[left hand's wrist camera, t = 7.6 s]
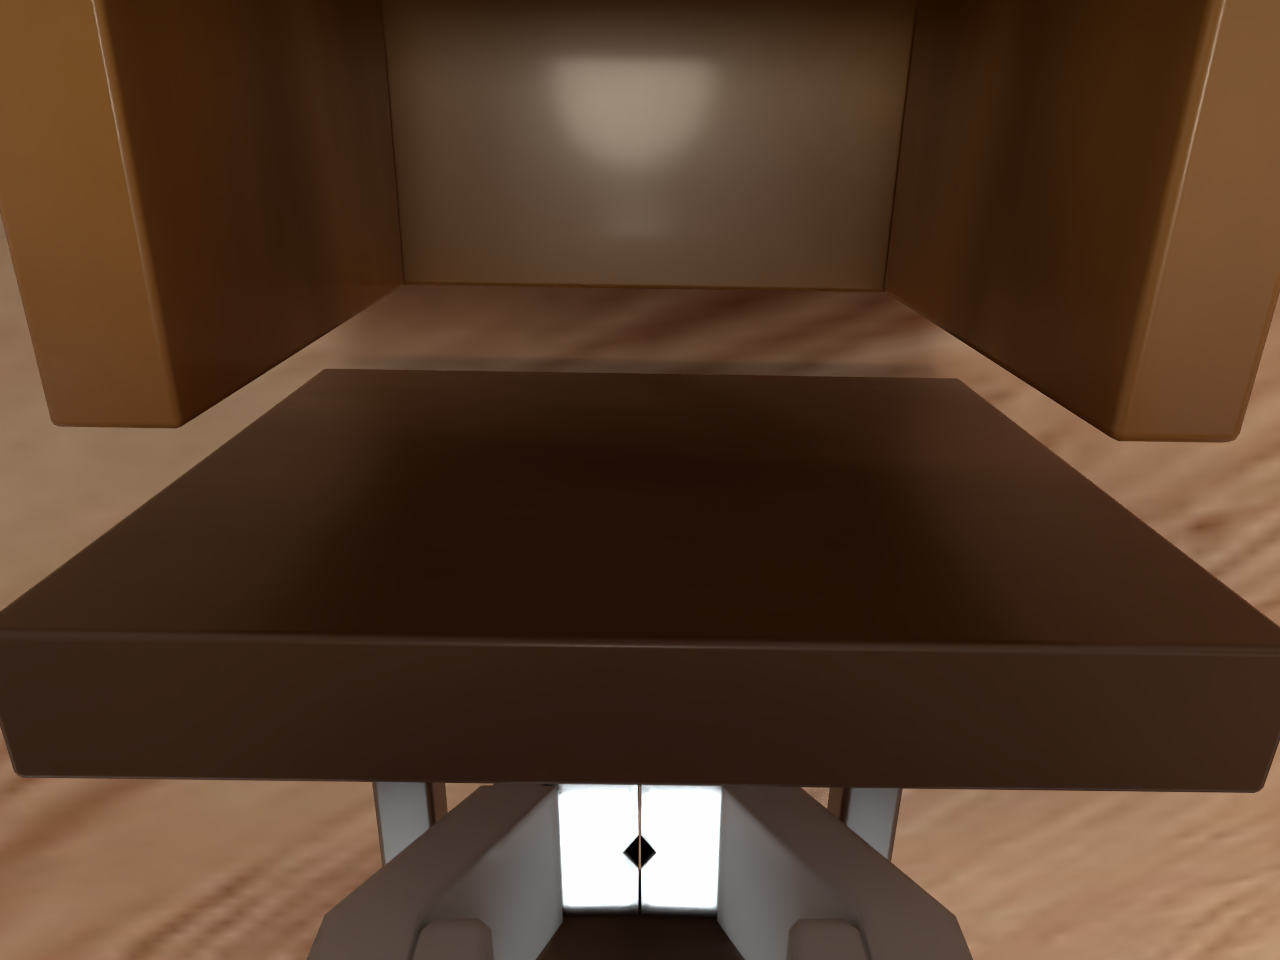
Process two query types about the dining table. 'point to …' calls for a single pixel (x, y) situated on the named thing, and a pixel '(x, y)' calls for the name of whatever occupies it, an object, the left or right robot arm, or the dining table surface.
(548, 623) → the drawer
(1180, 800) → the dining table surface
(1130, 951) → the dining table surface
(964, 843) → the dining table surface
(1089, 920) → the dining table surface
